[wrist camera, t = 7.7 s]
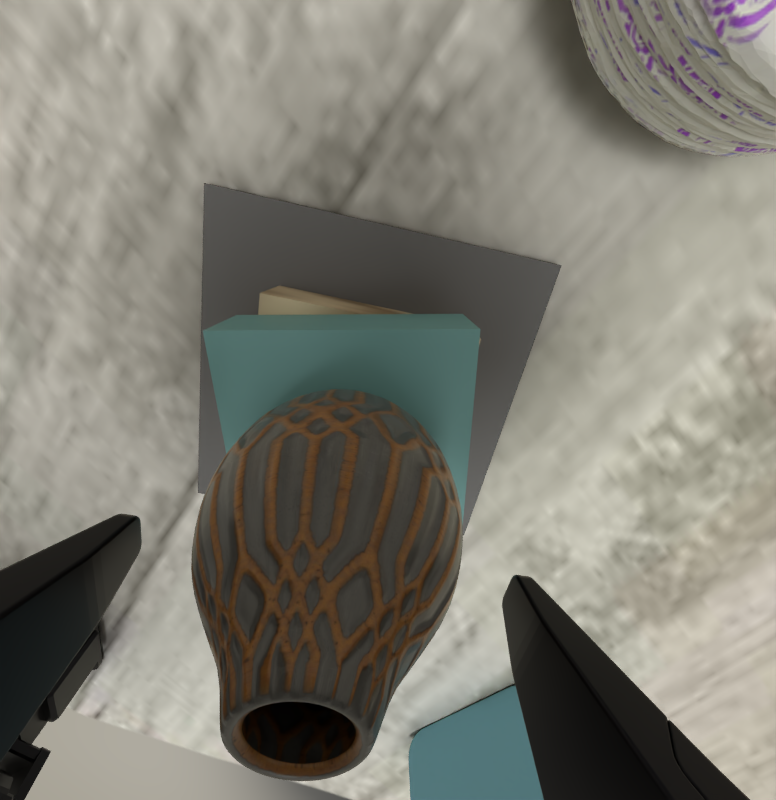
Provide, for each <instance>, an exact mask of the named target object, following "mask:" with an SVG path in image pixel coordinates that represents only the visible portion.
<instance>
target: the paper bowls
mask: <svg viewBox="0 0 776 800" xmlns="http://www.w3.org/2000/svg"><path fill="white" fill-rule="evenodd" d="M571 2H572V5H573V9H574V12H575V16H576V19H577V23H578V27H579V31H580V34H581V37H582V40H583V43H584V45H585V48H586V51H587V54H588V58H589V60H590V61H591V64H592V66H593V68H594V70H595V71H596V73H597V75H598V76H599V78H600V79H601V81H602V83H603V84H604V85H605V87H606V88H607V89H608V91H609V92H610V93H611V94H612V95H613V96H614V97H615V98H616V99H617V100H618V101H619V103H620V105H621V106H622V107H623V109H624V110H625V111H626V112H627V113H628V114H629V115H630V116H631V117H632V118H633V119H634V120H635V121H636V122H637V123H639V124H640V125H642V126H643V127H644V128H646V129H648V130H649V131H651V132H652V133H653V134H654V135H656V136H658V137H659V138H661V139H662V140H664V141H666V142H668V143H670V144H673V145H675V146H677V147H680V148H684V149H687V150H689V151H693V152H699V153H704V154H709V155H715V156H730V157H736V156H756V155H759V154H768V153H775V152H776V0H571Z"/></svg>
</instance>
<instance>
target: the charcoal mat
mask: <svg viewBox="0 0 776 800" xmlns="http://www.w3.org/2000/svg"><path fill="white" fill-rule="evenodd" d="M560 268H561V265H557V264H553V263H549V262H544V261H540V260H536V259H531V258H527V257H523V256H518V255H514V254H510V253H505V252H501V251H497V250H492V249H488V248H484V247H479V246H475V245H471V244H466V243H462V242H458V241H453V240H449V239H445V238H440V237H436V236H432V235H427V234H423V233H419V232H414V231H410V230H406V229H401V228H397V227H393V226H388V225H384V224H380V223H375V222H371V221H367V220H362V219H358V218H354V217H349V216H345V215H341V214H336V213H332V212H328V211H323V210H319V209H315V208H310V207H306V206H302V205H297V204H293V203H289V202H284V201H280V200H276V199H271V198H267V197H263V196H258V195H254V194H250V193H245V192H241V191H237V190H232V189H228V188H224V187H219V186H215V185H211V184H206V183H204V222H203V271H202V320H201V370H200V419H199V468H198V493H202V494H205V493H206V490H207V488H208V485H209V483H210V481H211V479H212V477H213V475H214V473H215V471H216V469H217V468H218V466H219V464H220V463H221V461H222V460H223V458H224V457H225V455H226V450H225V444H224V439H223V434H222V429H221V424H220V418H219V413H218V408H217V403H216V398H215V392H214V387H213V382H212V377H211V372H210V366H209V361H208V356H207V351H206V346H205V341H204V335H203V330H205V329H207V328H210V327H212V326H214V325H216V324H218V323H220V322H222V321H225V320H227V319H229V318H231V317H233V316H235V315H258V310H259V297H260V293H261V292H264V291H266V290H269V289H272V288H274V287H277V286H285V287H289V288H294V289H299V290H303V291H308V292H313V293H318V294H322V295H327V296H332V297H337V298H341V299H346V300H351V301H356V302H360V303H365V304H370V305H374V306H379V307H384V308H389V309H393V310H398V311H403V312H408V313H412V314H463V315H465V316H466V317H467V318H468V319H469V320H470V321H471V322H473V323H474V324H475V325H476V326H477V327H478V328H480V338H481V341H480V345H479V350H478V361H477V372H476V384H475V395H474V406H473V417H472V428H471V439H470V450H469V461H468V472H467V483H466V494H465V505H464V516H463V535H464V533H465V531H466V528H467V525H468V522H469V520H470V517H471V514H472V511H473V509H474V506H475V503H476V500H477V497H478V495H479V492H480V489H481V486H482V484H483V481H484V478H485V475H486V473H487V470H488V467H489V464H490V462H491V459H492V456H493V453H494V450H495V448H496V445H497V442H498V439H499V437H500V434H501V431H502V428H503V426H504V423H505V420H506V417H507V415H508V412H509V409H510V406H511V403H512V401H513V398H514V395H515V392H516V390H517V387H518V384H519V381H520V379H521V376H522V373H523V370H524V368H525V365H526V362H527V359H528V357H529V354H530V351H531V348H532V345H533V343H534V340H535V337H536V334H537V332H538V329H539V326H540V323H541V321H542V318H543V315H544V312H545V310H546V307H547V304H548V301H549V298H550V296H551V293H552V290H553V287H554V285H555V282H556V279H557V276H558V274H559V271H560Z"/></svg>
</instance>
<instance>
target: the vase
mask: <svg viewBox="0 0 776 800" xmlns="http://www.w3.org/2000/svg"><path fill="white" fill-rule="evenodd" d="M462 541H463V525H462V513H461V506H460V501H459V497H458V492H457V488H456V485H455V482H454V479H453V476H452V474H451V471H450V468H449V466H448V464H447V462H446V460H445V457H444V455H443V453H442V452H441V450H440V448H439V446H438V445H437V443H436V442H435V440H434V439H433V438H432V436H431V435H430V434H429V433H428V432H427V430H426V429H425V428H424V427H423V426H422V425H421V424H420V423H419V422H418V421H417V420H416V419H415V418H414V417H413V416H411V415H410V414H409V413H408V412H406V411H405V410H404V409H402V408H401V407H399V406H397V405H396V404H394V403H392V402H390V401H388V400H386V399H384V398H382V397H379V396H376V395H374V394H370V393H367V392H362V391H356V390H347V389H331V390H323V391H317V392H313V393H309V394H305V395H302V396H299V397H296V398H294V399H291V400H289V401H287V402H285V403H283V404H281V405H279V406H277V407H276V408H274V409H272V410H271V411H269V412H267V413H266V414H265V415H263V416H262V417H261V418H259V419H258V420H257V421H256V422H255V423H254V424H253V425H252V426H251V427H249V428H248V429H247V430H246V431H245V432H244V433H243V435H242V436H241V437H240V438H239V439H238V440H237V441H236V443H235V444H234V445H233V446H232V447H231V449H230V450H229V451H228V453H227V454H226V455H225V457H224V458H223V460H222V461H221V463H220V464H219V466H218V468H217V469H216V471H215V473H214V475H213V477H212V479H211V481H210V483H209V485H208V488H207V490H206V493H205V495H204V498H203V501H202V504H201V507H200V511H199V514H198V518H197V523H196V527H195V533H194V539H193V546H192V566H191V570H192V582H193V589H194V595H195V599H196V603H197V607H198V610H199V614H200V617H201V620H202V624H203V627H204V630H205V633H206V636H207V639H208V642H209V645H210V648H211V651H212V654H213V656H214V659H215V663H216V666H217V669H218V677H219V686H220V731H221V737H222V741H223V743H224V746H225V747H226V749H227V750H228V752H229V753H230V754H231V755H232V756H233V757H234V758H235V759H236V760H237V761H238V762H239V763H241V764H242V765H244V766H245V767H247V768H249V769H251V770H253V771H255V772H257V773H260V774H262V775H266V776H269V777H273V778H278V779H283V780H291V781H313V780H321V779H327V778H331V777H334V776H337V775H340V774H343V773H345V772H347V771H349V770H351V769H353V768H354V767H356V766H357V765H359V764H360V763H361V762H362V761H363V760H364V759H365V758H366V757H367V756H368V754H369V753H370V751H371V750H372V748H373V746H374V743H375V741H376V738H377V735H378V733H379V730H380V727H381V724H382V721H383V718H384V716H385V713H386V710H387V708H388V705H389V703H390V701H391V699H392V696H393V694H394V692H395V690H396V688H397V687H398V685H399V684H400V683H401V681H402V680H403V678H404V677H405V676H406V674H407V673H408V672H409V670H410V669H411V668H412V666H413V665H414V664H415V662H416V661H417V659H418V658H419V657H420V655H421V654H422V652H423V651H424V649H425V648H426V647H427V645H428V644H429V642H430V641H431V639H432V638H433V636H434V635H435V633H436V631H437V630H438V628H439V627H440V625H441V623H442V621H443V619H444V617H445V615H446V613H447V611H448V608H449V606H450V604H451V601H452V598H453V594H454V591H455V588H456V584H457V579H458V575H459V569H460V563H461V555H462Z"/></svg>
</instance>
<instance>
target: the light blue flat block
mask: <svg viewBox="0 0 776 800" xmlns="http://www.w3.org/2000/svg"><path fill="white" fill-rule="evenodd" d="M409 776H410V797H411V800H544V799H543V795H542V791H541V787H540V783H539V779H538V775H537V771H536V767H535V763H534V759H533V755H532V751H531V747H530V742H529V738H528V734H527V730H526V726H525V722H524V718H523V714H522V710H521V706H520V702H519V698H518V694H517V690H516V686H515V685H514V686H511V687H508V688H506V689H504V690H502V691H500V692H498V693H496V694H494V695H492V696H490V697H488V698H485V699H483V700H481V701H479V702H477V703H475V704H473V705H471V706H469V707H467V708H465V709H463V710H460V711H458V712H456V713H454V714H452V715H450V716H448V717H446V718H444V719H442V720H440V721H438V722H435V723H433V724H431V725H429V726H427V727H425V728H423V729H421V730H420V731H419V732H418V733H417V734H416V735H415V737H414V739H413V741H412V743H411V746H410V750H409Z"/></svg>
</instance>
